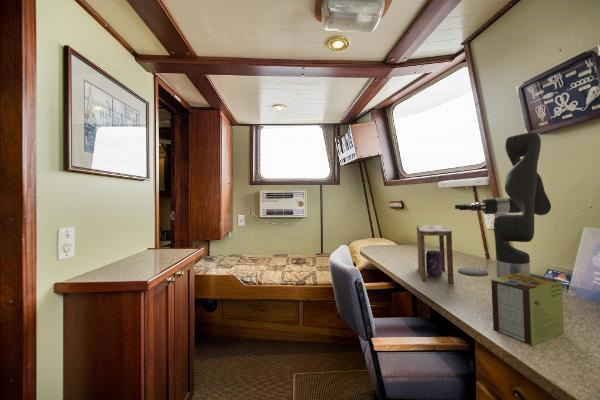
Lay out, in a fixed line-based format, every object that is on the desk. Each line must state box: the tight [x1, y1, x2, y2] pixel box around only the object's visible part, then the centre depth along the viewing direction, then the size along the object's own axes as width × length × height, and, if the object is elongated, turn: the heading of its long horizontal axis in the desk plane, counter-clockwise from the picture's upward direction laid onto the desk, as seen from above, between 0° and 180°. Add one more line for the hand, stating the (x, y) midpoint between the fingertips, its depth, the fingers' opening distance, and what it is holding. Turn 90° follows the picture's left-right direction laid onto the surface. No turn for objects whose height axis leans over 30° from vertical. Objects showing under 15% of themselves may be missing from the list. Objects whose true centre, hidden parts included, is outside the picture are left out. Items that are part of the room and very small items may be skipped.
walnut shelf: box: [416, 224, 455, 285], centre depth 140 cm, size 13×25×24 cm, turn 161°
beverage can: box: [425, 250, 443, 278], centre depth 140 cm, size 7×7×12 cm
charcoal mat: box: [457, 267, 489, 277], centre depth 141 cm, size 13×13×1 cm
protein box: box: [490, 272, 565, 347], centre depth 81 cm, size 10×15×16 cm
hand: (457, 207), depth 135 cm, fingers open, 8 cm apart
